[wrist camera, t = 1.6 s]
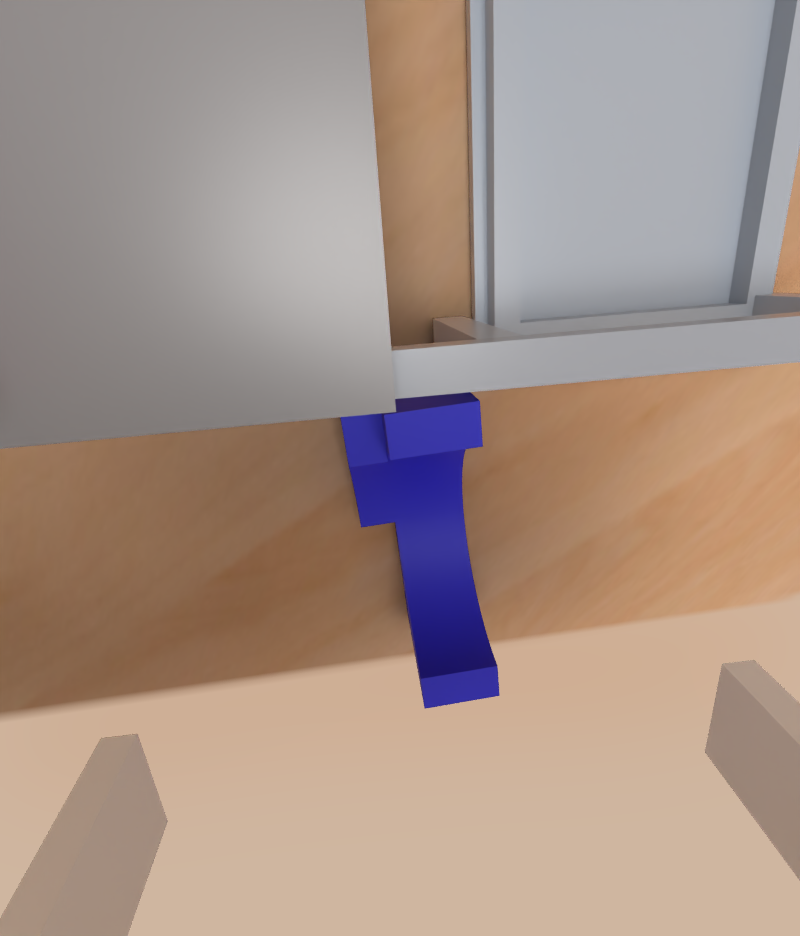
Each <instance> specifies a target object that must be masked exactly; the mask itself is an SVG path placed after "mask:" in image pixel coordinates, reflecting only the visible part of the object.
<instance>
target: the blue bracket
mask: <svg viewBox="0 0 800 936" xmlns="http://www.w3.org/2000/svg"><path fill="white" fill-rule="evenodd" d="M395 404H396V412H391V413H380V414H369V415H358V416H348V417H341V423H342V429H343V435H344V441H345V447H346V452H347V458H348V464H349V469H350V473H351V477H352V481H353V486H354V491H355V496H356V501H357V506H358V511H359V517H360V523H361V527H367V526H373V525H380V524H386V523H392V522H395V527H396V534H397V541H398V548H399V555H400V562H401V569H402V576H403V583H404V590H405V597H406V605H407V612H408V618H409V624H410V629H411V635H412V640H413V646H414V651H415V657H416V663H417V668H418V673H419V679H420V685H421V690H422V696H423V702H424V707H425V708H431V707H437V706H442V705H448V704H454V703H459V702H465V701H471V700H477V699H482V698H488V697H494V696H499V683H498V669H497V664H496V661H495V658H494V655H493V653H492V650H491V647H490V643H489V640H488V637H487V634H486V630H485V627H484V623H483V619H482V615H481V611H480V607H479V603H478V599H477V594H476V590H475V585H474V580H473V575H472V570H471V564H470V559H469V553H468V546H467V539H466V531H465V523H464V513H463V499H462V467H463V458H464V453H465V449H469V448H476V447H482V446H483V443H482V428H481V413H480V401H479V400H478V399H477V398H476V397H475V396H474V395H473V394H472V393H470V392H466V393H455V394H444V395H434V396H423V397H412V398H401V399H395Z"/></svg>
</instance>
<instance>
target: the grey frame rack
mask: <svg viewBox="0 0 800 936" xmlns="http://www.w3.org/2000/svg"><path fill="white" fill-rule="evenodd" d="M466 34H467V86H468V138H469V189H470V241H471V293H472V319H470V318H467V317H464V316H455V317H443V318H433V333H434V343H426V344H415V345H403V346H391V351H392V364H393V377H394V391H395V399H401V398H412V397H423V396H434V395H444V394H455V393H466V392H477V391H488V390H499V389H510V388H521V387H532V386H543V385H554V384H565V383H576V382H587V381H598V380H609V379H620V378H631V377H642V376H652V375H663V374H674V373H685V372H696V371H707V370H718V369H729V368H740V367H751V366H762V365H773V364H784V363H795V362H800V293H773V288H774V283H775V277H776V272H777V266H778V261H779V255H780V250H781V245H782V239H783V234H784V228H785V223H786V217H787V212H788V206H789V201H790V196H791V190H792V185H793V179H794V174H795V168H796V163H797V157H798V152H799V146H800V0H466Z"/></svg>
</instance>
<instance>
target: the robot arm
mask: <svg viewBox="0 0 800 936" xmlns="http://www.w3.org/2000/svg"><path fill="white" fill-rule="evenodd" d="M705 753H706V754H707V755H708V757H709V758H710V760H711V761H712V762H713V764H714V765H715V766H716V768H717V769H718V770H719V772H720V773H721V774H722V776H723V777H724V778H725V780H726V781H727V783H728V784H729V785H730V787H731V788H732V789H733V791H734V792H735V793H736V795H737V796H738V797H739V799H740V800H741V801H742V803H743V804H744V806H745V807H746V808H747V809H748V811H749V812H750V813H751V815H752V816H753V818H754V819H755V820H756V822H757V823H758V824H759V826H760V827H761V829H762V830H763V831H764V832H765V834H766V835H767V837H768V838H769V839H770V841H771V842H772V843H773V845H774V846H775V847H776V849H777V850H778V851H779V853H780V854H781V855H782V857H783V858H784V860H785V861H786V862H787V863H788V865H789V866H790V868H791V869H792V870H793V872H794V873H795V874H796V876H797V877H798V878H799V880H800V703H799V702H798V701H797V700H796V699H795V698H794V697H792V696H791V695H790V694H789V693H788V692H787V691H786V690H785V689H784V688H783V687H782V686H781V685H780V684H779V683H778V682H777V681H776V680H775V679H774V678H772V677H771V676H770V675H769V674H768V673H767V672H766V671H765V670H764V669H763V668H762V667H761V666H760V665H759V664H758V663H757V662H756V661H755V660H750V661H742V662H734V663H725V664H722V667H721V672H720V677H719V682H718V687H717V693H716V698H715V703H714V708H713V713H712V719H711V724H710V729H709V734H708V739H707V744H706V749H705ZM166 824H167V818H166V815H165V812H164V810H163V807H162V804H161V801H160V798H159V795H158V792H157V789H156V786H155V784H154V780H153V778H152V775H151V772H150V769H149V766H148V763H147V760H146V757H145V754H144V752H143V749H142V746H141V743H140V740H139V737H138V734H132V735H123V736H115V737H107V738H101V739H100V741H99V743H98V745H97V747H96V748H95V750H94V752H93V754H92V756H91V757H90V759H89V761H88V763H87V764H86V766H85V768H84V770H83V771H82V773H81V775H80V777H79V779H78V780H77V782H76V784H75V786H74V788H73V789H72V791H71V793H70V795H69V796H68V798H67V800H66V802H65V804H64V805H63V807H62V809H61V811H60V813H59V814H58V816H57V818H56V820H55V822H54V823H53V825H52V827H51V829H50V831H49V832H48V834H47V836H46V838H45V839H44V841H43V843H42V845H41V846H40V848H39V850H38V852H37V854H36V856H35V857H34V859H33V861H32V863H31V864H30V867H29V868H28V870H27V871H26V873H25V875H24V877H23V879H22V880H21V882H20V884H19V886H18V888H17V889H16V891H15V893H14V895H13V897H12V898H11V900H10V902H9V904H8V906H7V907H6V909H5V911H4V913H3V914H2V917H1V918H0V936H127V935H128V932H129V930H130V927H131V924H132V921H133V918H134V915H135V912H136V910H137V907H138V904H139V901H140V898H141V895H142V892H143V890H144V887H145V884H146V881H147V878H148V875H149V872H150V869H151V867H152V864H153V861H154V858H155V855H156V852H157V850H158V847H159V844H160V841H161V838H162V836H163V833H164V830H165V827H166Z"/></svg>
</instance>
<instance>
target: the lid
mask: <svg viewBox="0 0 800 936" xmlns="http://www.w3.org/2000/svg"><path fill="white" fill-rule="evenodd" d="M391 412H396V404H395V391H394V377H393V364H392V351H391V338H390V325H389V312H388V299H387V286H386V272H385V259H384V246H383V233H382V220H381V207H380V194H379V181H378V167H377V154H376V141H375V128H374V115H373V102H372V89H371V76H370V62H369V49H368V36H367V23H366V10H365V0H0V449H3V448H14V447H25V446H36V445H46V444H57V443H68V442H79V441H89V440H100V439H111V438H122V437H132V436H143V435H154V434H165V433H175V432H186V431H197V430H208V429H218V428H229V427H240V426H251V425H261V424H272V423H283V422H294V421H305V420H315V419H326V418H337V417H348V416H358V415H369V414H380V413H391Z"/></svg>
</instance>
